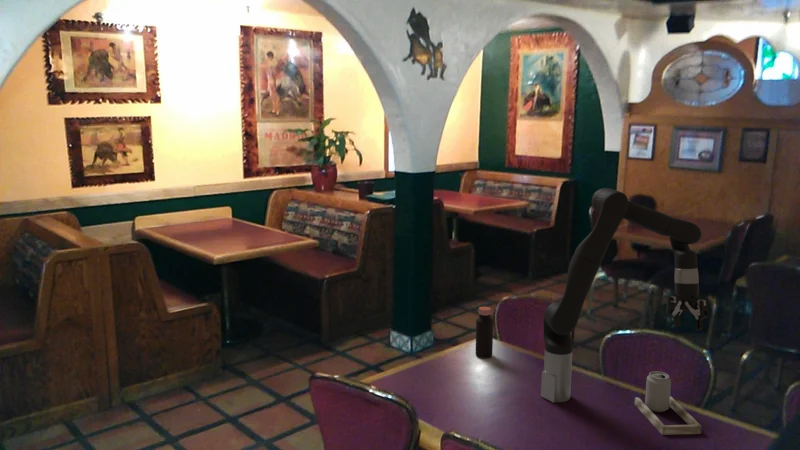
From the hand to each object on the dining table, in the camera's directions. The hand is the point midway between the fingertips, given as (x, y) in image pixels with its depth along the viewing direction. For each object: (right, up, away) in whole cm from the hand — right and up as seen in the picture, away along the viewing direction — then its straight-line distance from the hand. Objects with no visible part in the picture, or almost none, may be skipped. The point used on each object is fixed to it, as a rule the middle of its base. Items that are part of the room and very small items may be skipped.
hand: (688, 328), depth 218 cm
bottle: (-65, -18, +39) cm, 78 cm away
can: (-13, -26, -6) cm, 30 cm away
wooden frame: (-13, -27, -13) cm, 32 cm away
